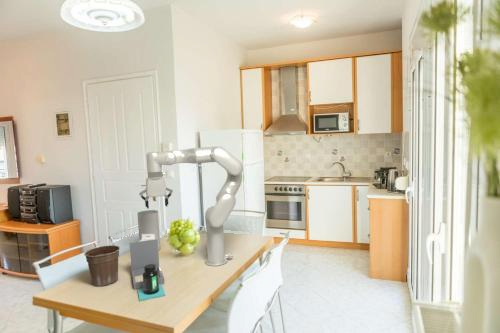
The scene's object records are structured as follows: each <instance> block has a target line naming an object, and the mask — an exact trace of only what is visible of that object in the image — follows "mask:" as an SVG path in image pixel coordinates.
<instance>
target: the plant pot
mask: <svg viewBox="0 0 500 333" xmlns="http://www.w3.org/2000/svg"><path fill="white" fill-rule="evenodd" d="M120 250H121V247H120V246H119V245H102V246H101V245H100V246H97V247H93V248H90V249H87V250H86V251H85V252H84V254H83V255H84V256H85V260H86V263H87V265H88V270H89V275H90V279H91V284H92V285H93V286H94V287H105V286H108V285H110V284H114V283H116V282H117V281H118V280H119V256H120Z"/></svg>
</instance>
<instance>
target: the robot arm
mask: <svg viewBox="0 0 500 333" xmlns="http://www.w3.org/2000/svg"><path fill="white" fill-rule="evenodd" d="M206 163H207V164H208V163H217V165H218V166H220V167H221V168H223V169H224V170H225V171H226V174H227V176H226V180H225V181H224V184H223V185H222V187H221V188H220V190H219V192H218V193H217V195H216V197H215V201H216V203H215V204H214V205H213V206H212V205H211V206H210V207H208V208H207V209H206V210H205V215H204V220H205V229H206V250H207V258H206V259H205V261H204V264H206V265H207V266H209V267H210V266H211V267H218V266H223V265H225V264H227V263H228V258H233V257H234V254H233V253H229V252H228V253H226V252H225V240H224V239H225V238H224V236H225V235H224V233H225V232H224V224H225V223H226V221H227V220H228V218H229V216H230V215H231V213H232V211H233V210H234V209H235V206H236V203H237V200H236V197H235V196H236V194H237V193H238V192H239V188H240V187H241V184H242V182H243V173H242V172H243V171H244V164H243V163H242V162H241V160H239V159H238V158H236V157H235V156H234V155H233V154H232V153H231V152H229V151H228V150H227V149H226V148H224V147H223V146H207V147H206V146H205V147H191V148H185V149H175V150H173V149H172V150H165V151H162V152H159V151H149V152H147V153H146V168H147V178H145V179H146V180H145V189H144V190H142V191H140V192H139V193H138V194H139V197H140V198H141V199H142V200H144V206H145V208H146V209H147V210H149V208H150V207H149V205H150V204H149V199H150V198H158V197H164V205H165V207H168V205H169V198H170V197H171V196H172V194H173V191H174V190H173V189H171V188H168V187H166V180H165V177H164V176H165V175H166V172H164V171H163V166H171V165H172V166H173V165H175V164H195V165H196V164H206ZM167 192H168V194H167ZM144 194H146V196H144Z"/></svg>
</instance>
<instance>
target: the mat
mask: <svg viewBox="0 0 500 333" xmlns="http://www.w3.org/2000/svg"><path fill="white" fill-rule="evenodd" d="M137 294H138V300H139V302H143V301H146V300H147V301H148V300H152V299H157V298H161V297H166V292H165V290H164V287H163V284H161V285H159V291H158V292H157V293H155V294H151V295H147V294H145V293H144V288H140V289H137Z"/></svg>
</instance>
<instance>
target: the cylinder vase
mask: <svg viewBox="0 0 500 333" xmlns="http://www.w3.org/2000/svg"><path fill="white" fill-rule="evenodd" d="M159 220H160V219H159V210H155V209H147V210H142V211H138V212H137V224H138V225H137V227H138V242H139V241H140V240H142V234H154V235H155V239H158V252H159V251H160V250H161V238H160V224H159V223H160V221H159ZM146 237H150V236H146Z"/></svg>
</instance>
